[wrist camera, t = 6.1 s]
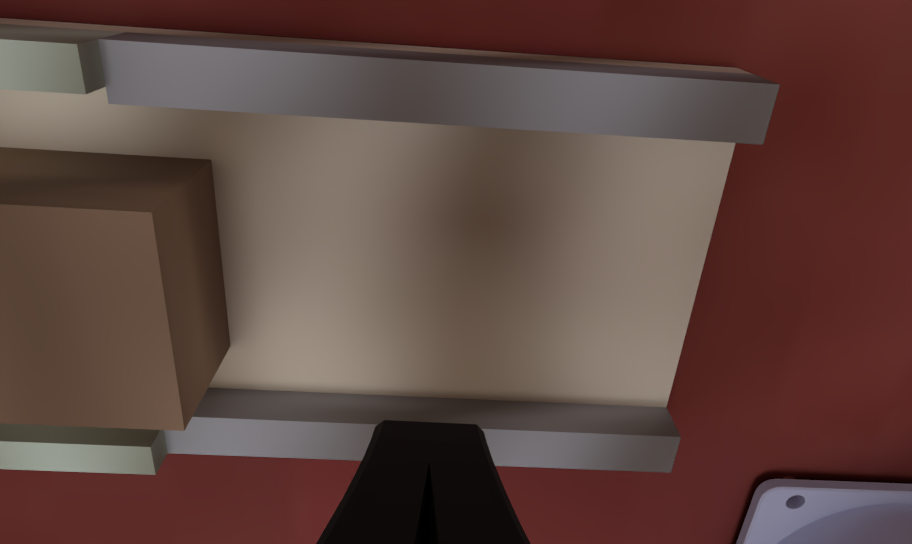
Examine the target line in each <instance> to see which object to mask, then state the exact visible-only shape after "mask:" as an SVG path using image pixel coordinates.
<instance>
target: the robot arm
mask: <svg viewBox="0 0 912 544" xmlns="http://www.w3.org/2000/svg"><path fill="white" fill-rule="evenodd" d="M792 496H793V497H792ZM790 497H791V498H790ZM316 544H530V542H529V540H528V538H527V536H526V534H525V532H524V530H523V528H522V526H521V524H520V522H519V520H518V518H517V516H516V514H515V511H514V509H513V507H512V505H511V503H510V500H509V498H508V496H507V494H506V491H505V489H504V487H503V484H502V482H501V480H500V477H499V475H498V472H497V470H496V467H495V464H494V462H493V459H492V456H491V453H490V450H489V447H488V444H487V441H486V438H485V434H484V431H483V430H482V429H481V428H480V427H479V426H478V425H477V424H461V423H439V422H417V421H395V420H383V421H382V422H381V423H379V424H378V425H377V426H375V429H374V432H373V435H372V438H371V441H370V443H369V445H368V448H367V450H366V453H365V455H364V457H363V459H362V461H361V464H360V466H359V468H358V470H357V472H356V474H355V476H354V478H353V480H352V482H351V483H350V485H349V487H348V489H347V491H346V493H345V495H344V497H343V499H342V501H341V502H340V504H339V506H338V507H337V509H336V511H335V513H334V514H333V516H332V518H331V519H330V521H329V523H328V525H327V526H326V528H325V530H324V531H323V533H322V535H321V537H320V538H319V540H318V542H317V543H316ZM736 544H912V484H902V483H876V482H850V481H824V480H798V479H769V480H767V481H764V482H763V483H761V484H760V485H759V486H758V487H757V489H756V491H755V493H754V495H753V498H752V501H751V504H750V506H749V509H748V512H747V515H746V517H745V520H744V523H743V526H742V528H741V531H740V534H739V537H738V540H737V542H736Z"/></svg>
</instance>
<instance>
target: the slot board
mask: <svg viewBox="0 0 912 544" xmlns="http://www.w3.org/2000/svg"><path fill="white" fill-rule="evenodd" d="M779 86H780V84H777V83H775V82H772V81H769V80H767V79H764V78H762V77H759V76H757V75H754V74H752V73H749V72H746V71H744V70H741V69H739V68H733V67H718V66H703V65H688V64H674V63H659V62H644V61H629V60H615V59H600V58H585V57H570V56H555V55H541V54H526V53H511V52H496V51H481V50H467V49H452V48H437V47H422V46H407V45H393V44H378V43H363V42H348V41H334V40H319V39H304V38H289V37H274V36H260V35H245V34H230V33H215V32H200V31H186V30H171V29H156V28H141V27H127V26H112V25H97V24H82V23H67V22H53V21H38V20H23V19H8V18H0V147H7V148H24V149H41V150H58V151H75V152H92V153H108V154H125V155H142V156H159V157H176V158H193V159H210V160H211V161H212V171H213V180H214V190H215V200H216V210H217V219H218V229H219V239H220V248H221V258H222V268H223V278H224V287H225V297H226V307H227V317H228V326H229V336H230V348H229V350H228V352H227V354H226V355H225V357H224V359H223V361H222V363H221V365H220V366H219V368H218V370H217V372H216V374H215V376H214V377H213V379H212V381H211V383H210V385H209V387H208V389H207V390H206V392H205V394H204V396H203V398H202V400H201V401H200V403H199V405H198V407H197V409H196V411H195V413H194V414H193V416H192V418H191V420H190V422H189V424H188V425H187V427H186V429H185V431H176V430H151V429H126V428H102V427H77V426H52V425H28V424H3V423H0V469H15V470H42V471H69V472H96V473H123V474H150V475H156V473H157V471H158V469H159V468H160V466H161V464H162V462H163V460H164V459H165V457H166V455H167V453H178V454H204V455H230V456H256V457H282V458H308V459H334V460H359V461H362V459H363V457H364V455H365V453H366V450H367V448H368V445H369V443H370V441H371V438H372V435H373V432H374V429H375V426H377V425H378V424H379V423H381V422H382V421H383V420H395V421H417V422H439V423H461V424H477V425H478V426H479V427H480V428H481V429H482V430H483V431H484V434H485V438H486V441H487V444H488V447H489V450H490V453H491V456H492V459H493V462H494V464H495V466H515V467H541V468H566V469H592V470H618V471H644V472H670V473H671V470H672V467H673V463H674V460H675V456H676V453H677V449H678V445H679V442H680V438H681V436H680V434H679V432H678V430H677V428H676V426H675V424H674V422H673V420H672V418H671V416H670V414H669V412H668V410H667V408H666V407H667V403H668V399H669V396H670V392H671V388H672V384H673V380H674V376H675V373H676V369H677V365H678V361H679V357H680V354H681V350H682V346H683V342H684V338H685V334H686V331H687V327H688V323H689V319H690V315H691V311H692V308H693V304H694V300H695V296H696V292H697V289H698V285H699V281H700V277H701V273H702V269H703V266H704V262H705V258H706V254H707V250H708V246H709V243H710V239H711V235H712V231H713V227H714V224H715V220H716V216H717V212H718V208H719V204H720V201H721V197H722V193H723V189H724V185H725V181H726V178H727V174H728V170H729V166H730V162H731V159H732V155H733V151H734V147H735V143H745V144H761V145H763V143H764V139H765V136H766V132H767V129H768V125H769V121H770V118H771V114H772V111H773V107H774V104H775V100H776V97H777V93H778V89H779Z"/></svg>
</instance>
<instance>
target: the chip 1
mask: <svg viewBox="0 0 912 544" xmlns="http://www.w3.org/2000/svg"><path fill="white" fill-rule="evenodd" d="M229 348H230V336H229V326H228V317H227V307H226V297H225V287H224V278H223V268H222V258H221V248H220V239H219V229H218V219H217V210H216V200H215V190H214V180H213V171H212V161H211V160H210V159H193V158H176V157H159V156H142V155H125V154H108V153H92V152H75V151H58V150H41V149H24V148H7V147H0V423H3V424H28V425H52V426H77V427H102V428H126V429H151V430H176V431H185V429H186V427H187V425H188V424H189V422H190V420H191V418H192V416H193V414H194V413H195V411H196V409H197V407H198V405H199V403H200V401H201V400H202V398H203V396H204V394H205V392H206V390H207V389H208V387H209V385H210V383H211V381H212V379H213V377H214V376H215V374H216V372H217V370H218V368H219V366H220V365H221V363H222V361H223V359H224V357H225V355H226V354H227V352H228V350H229Z"/></svg>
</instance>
